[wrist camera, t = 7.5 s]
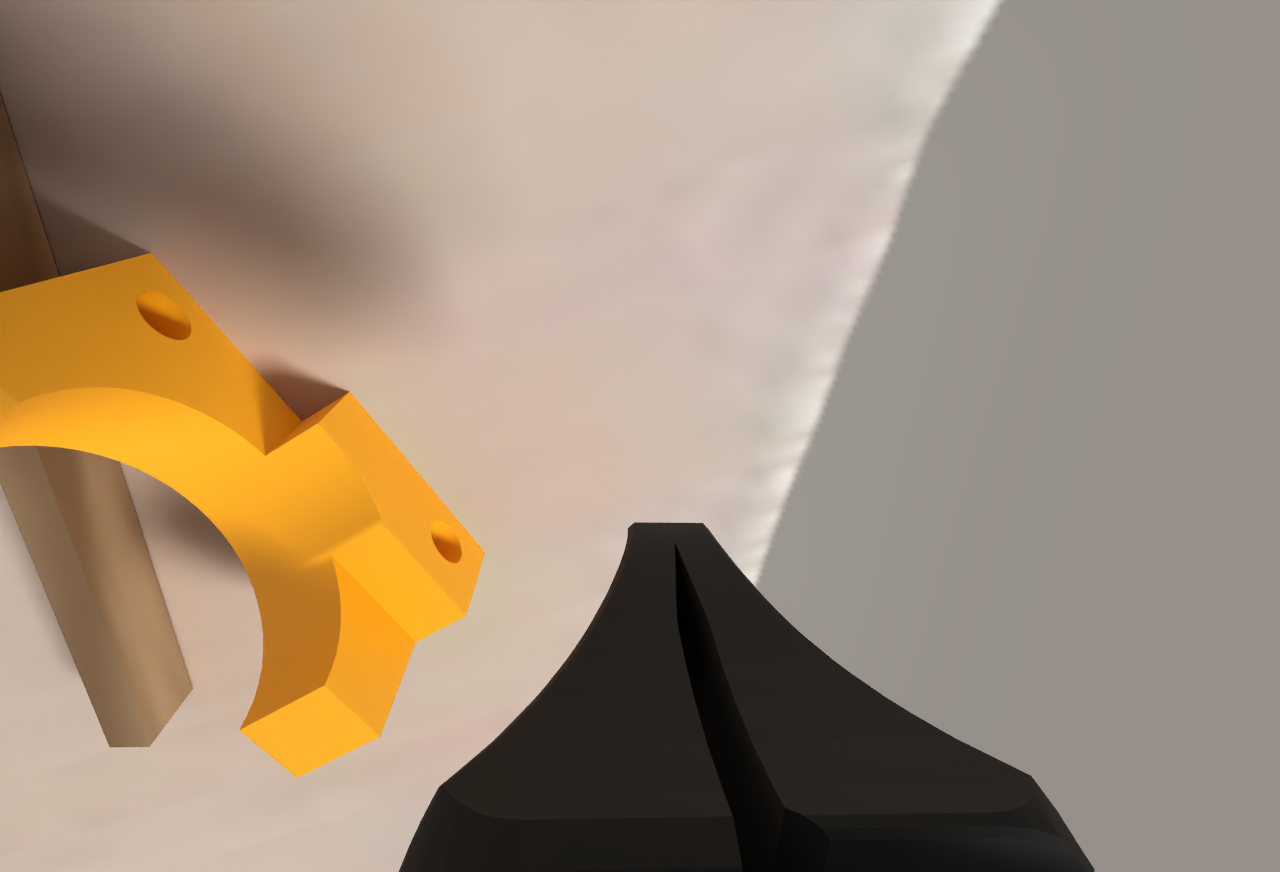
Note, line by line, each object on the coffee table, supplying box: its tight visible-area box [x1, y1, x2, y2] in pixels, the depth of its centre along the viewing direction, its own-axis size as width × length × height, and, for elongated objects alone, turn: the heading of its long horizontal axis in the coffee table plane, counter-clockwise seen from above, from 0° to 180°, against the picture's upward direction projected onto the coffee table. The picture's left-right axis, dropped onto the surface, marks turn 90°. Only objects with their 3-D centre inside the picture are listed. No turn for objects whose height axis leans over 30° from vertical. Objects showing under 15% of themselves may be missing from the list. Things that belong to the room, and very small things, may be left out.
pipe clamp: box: [0, 253, 485, 778], centre depth 17 cm, size 12×4×6 cm, turn 30°
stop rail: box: [0, 95, 193, 747], centre depth 17 cm, size 1×22×2 cm, turn 178°
